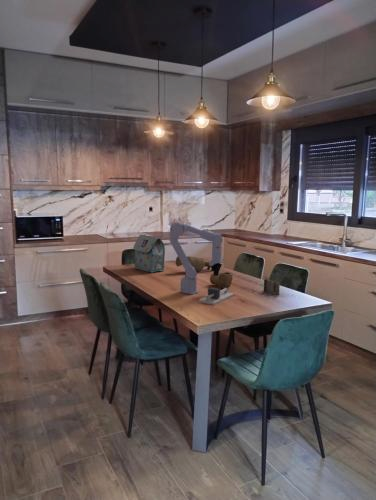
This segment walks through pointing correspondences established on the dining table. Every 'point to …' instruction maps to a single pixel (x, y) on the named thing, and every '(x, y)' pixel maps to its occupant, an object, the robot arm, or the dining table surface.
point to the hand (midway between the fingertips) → (216, 275)
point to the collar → (214, 292)
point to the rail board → (223, 296)
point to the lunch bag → (149, 253)
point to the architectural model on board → (271, 286)
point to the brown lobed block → (222, 279)
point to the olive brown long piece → (195, 263)
